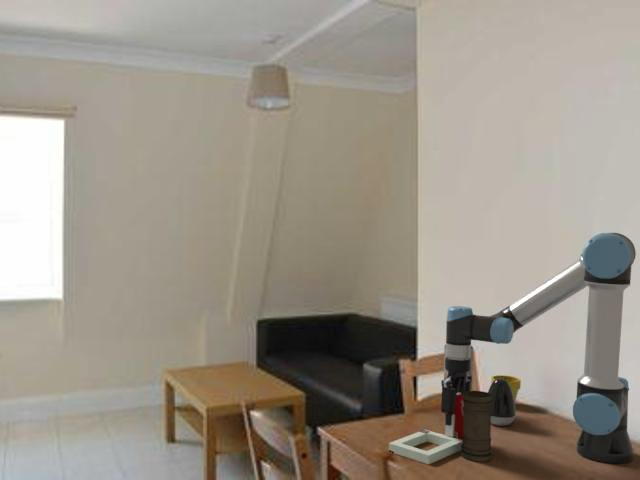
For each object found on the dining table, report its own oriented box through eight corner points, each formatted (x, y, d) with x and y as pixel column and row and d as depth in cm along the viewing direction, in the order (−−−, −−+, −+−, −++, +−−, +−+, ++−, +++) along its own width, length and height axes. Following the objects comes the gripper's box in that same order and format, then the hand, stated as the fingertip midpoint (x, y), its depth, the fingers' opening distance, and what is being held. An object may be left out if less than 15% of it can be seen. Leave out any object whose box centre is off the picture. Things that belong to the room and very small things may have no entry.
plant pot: (524, 404, 245) (525, 378, 244) (513, 410, 237) (513, 383, 236) (498, 399, 251) (498, 373, 251) (486, 405, 243) (486, 378, 243)
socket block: (463, 448, 196) (464, 439, 196) (428, 464, 184) (428, 454, 183) (424, 437, 206) (425, 428, 206) (388, 451, 193) (388, 442, 193)
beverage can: (467, 444, 199) (466, 395, 199) (445, 444, 200) (444, 395, 200) (466, 438, 205) (465, 390, 205) (445, 437, 206) (443, 390, 206)
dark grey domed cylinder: (519, 422, 223) (520, 377, 222) (510, 430, 214) (511, 383, 214) (489, 417, 228) (490, 373, 228) (479, 424, 220) (480, 379, 219)
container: (486, 464, 184) (488, 400, 184) (455, 457, 189) (457, 395, 189) (496, 454, 192) (498, 393, 191) (466, 448, 197) (467, 388, 196)
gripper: (463, 352, 211) (460, 425, 211) (430, 359, 198) (427, 436, 198) (484, 356, 205) (481, 430, 206) (452, 363, 192) (448, 442, 193)
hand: (454, 433), depth 202 cm, fingers closed on beverage can, 5 cm apart
